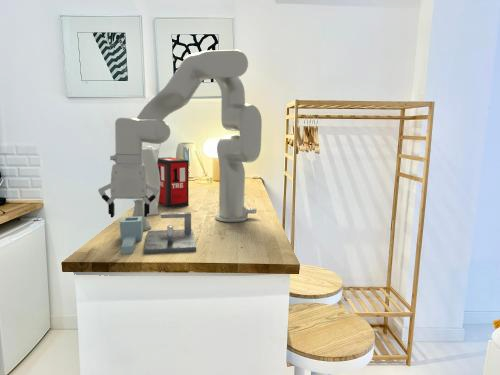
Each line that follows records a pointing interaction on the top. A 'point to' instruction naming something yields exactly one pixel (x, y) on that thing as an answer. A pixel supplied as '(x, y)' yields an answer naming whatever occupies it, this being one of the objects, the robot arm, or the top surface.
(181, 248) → the base
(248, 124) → the robot arm
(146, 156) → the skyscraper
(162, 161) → the cleaning product box
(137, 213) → the flask
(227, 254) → the top surface
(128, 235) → the link
